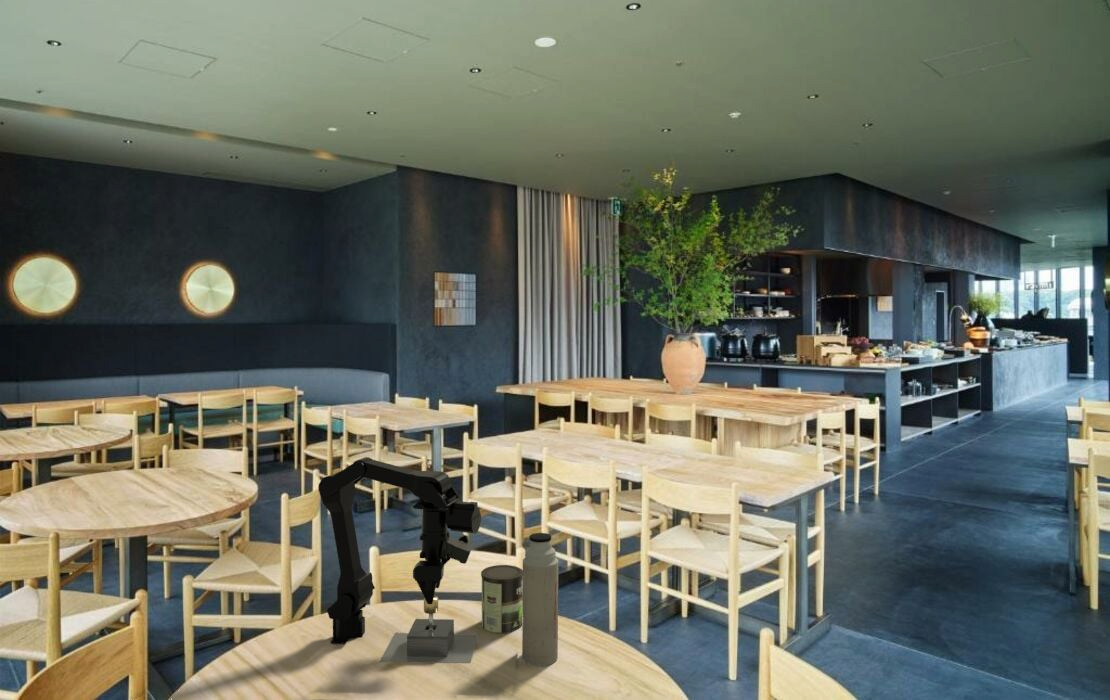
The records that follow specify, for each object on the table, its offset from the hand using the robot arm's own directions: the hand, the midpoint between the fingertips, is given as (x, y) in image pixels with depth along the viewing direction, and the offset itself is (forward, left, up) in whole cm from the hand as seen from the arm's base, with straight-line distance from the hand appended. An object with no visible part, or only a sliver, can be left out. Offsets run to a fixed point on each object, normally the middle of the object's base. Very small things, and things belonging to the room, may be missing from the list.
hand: (433, 595), depth 164 cm
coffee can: (+15, +12, -13) cm, 23 cm away
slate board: (0, -1, -13) cm, 13 cm away
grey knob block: (0, -1, -12) cm, 12 cm away
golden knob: (0, -1, -9) cm, 9 cm away
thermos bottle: (+25, -3, -13) cm, 28 cm away
